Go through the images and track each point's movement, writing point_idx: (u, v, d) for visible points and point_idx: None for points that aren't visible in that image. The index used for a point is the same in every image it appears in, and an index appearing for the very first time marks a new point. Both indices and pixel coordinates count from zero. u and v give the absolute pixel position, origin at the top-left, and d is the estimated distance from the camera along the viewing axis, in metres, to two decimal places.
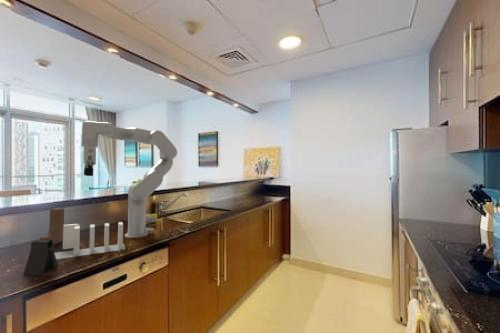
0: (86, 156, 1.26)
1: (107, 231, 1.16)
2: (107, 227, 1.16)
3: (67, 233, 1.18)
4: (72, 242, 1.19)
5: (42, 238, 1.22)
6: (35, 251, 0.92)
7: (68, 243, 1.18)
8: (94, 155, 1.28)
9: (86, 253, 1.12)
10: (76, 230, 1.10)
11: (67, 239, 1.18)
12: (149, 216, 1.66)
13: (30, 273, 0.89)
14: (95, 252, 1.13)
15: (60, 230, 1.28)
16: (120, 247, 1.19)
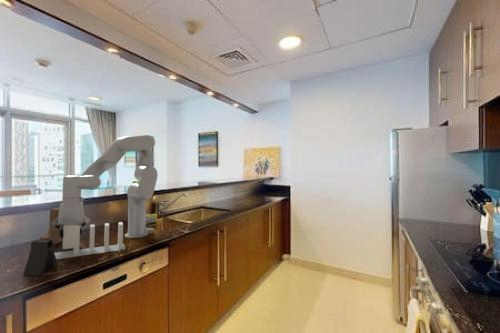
0: (82, 214, 1.20)
1: (107, 231, 1.16)
2: (107, 227, 1.16)
3: (67, 233, 1.17)
4: (72, 242, 1.19)
5: (42, 238, 1.22)
6: (35, 251, 0.92)
7: (68, 243, 1.18)
8: None
9: (86, 253, 1.12)
10: (76, 230, 1.10)
11: (67, 239, 1.17)
12: (149, 216, 1.66)
13: (30, 273, 0.89)
14: (95, 252, 1.13)
15: None
16: (120, 247, 1.19)
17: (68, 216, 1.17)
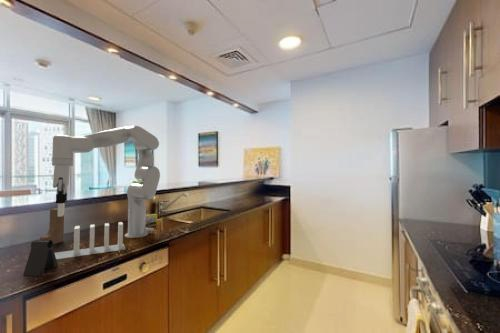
0: None
1: (107, 231, 1.16)
2: (107, 227, 1.16)
3: None
4: (63, 207, 1.10)
5: (42, 238, 1.22)
6: (35, 251, 0.92)
7: (63, 208, 1.09)
8: None
9: (86, 253, 1.12)
10: (76, 230, 1.10)
11: (63, 204, 1.08)
12: (149, 216, 1.66)
13: (30, 273, 0.89)
14: (95, 252, 1.13)
15: (60, 230, 1.28)
16: (120, 247, 1.19)
17: (68, 179, 1.10)
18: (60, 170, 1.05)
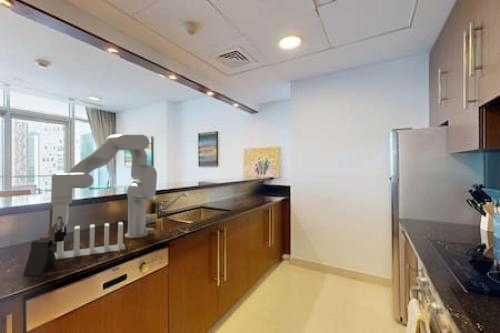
0: None
1: (107, 231, 1.16)
2: (107, 227, 1.16)
3: None
4: (62, 247, 1.10)
5: (42, 238, 1.22)
6: (35, 251, 0.92)
7: (62, 248, 1.09)
8: None
9: (86, 253, 1.12)
10: (76, 230, 1.10)
11: (62, 244, 1.08)
12: (149, 216, 1.66)
13: (30, 273, 0.89)
14: (95, 252, 1.13)
15: None
16: (120, 247, 1.19)
17: (67, 216, 1.10)
18: (59, 209, 1.05)
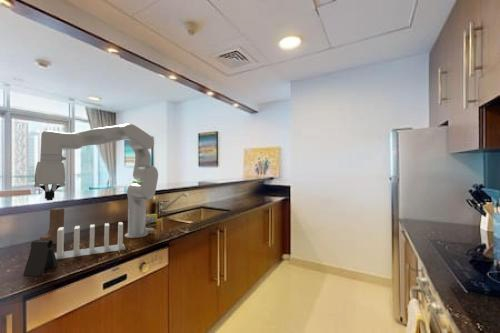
0: (64, 174, 1.10)
1: (107, 231, 1.16)
2: (107, 227, 1.16)
3: (62, 238, 1.08)
4: (62, 247, 1.10)
5: (42, 238, 1.22)
6: (35, 251, 0.92)
7: (62, 248, 1.09)
8: None
9: (86, 253, 1.12)
10: (76, 230, 1.10)
11: (62, 244, 1.08)
12: (149, 216, 1.66)
13: (30, 273, 0.89)
14: (95, 252, 1.13)
15: None
16: (120, 247, 1.19)
17: (49, 175, 1.05)
18: (36, 166, 1.03)
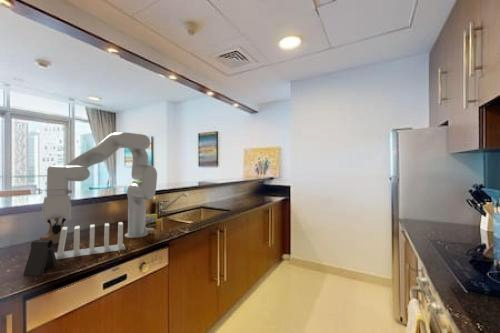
0: (69, 208, 1.09)
1: (107, 231, 1.16)
2: (107, 227, 1.16)
3: (65, 237, 1.09)
4: (63, 247, 1.10)
5: (42, 238, 1.22)
6: (35, 251, 0.92)
7: (63, 248, 1.09)
8: None
9: (86, 253, 1.12)
10: (76, 230, 1.10)
11: (64, 244, 1.09)
12: (149, 216, 1.66)
13: (30, 273, 0.89)
14: (95, 252, 1.13)
15: None
16: (120, 247, 1.19)
17: (54, 210, 1.06)
18: None
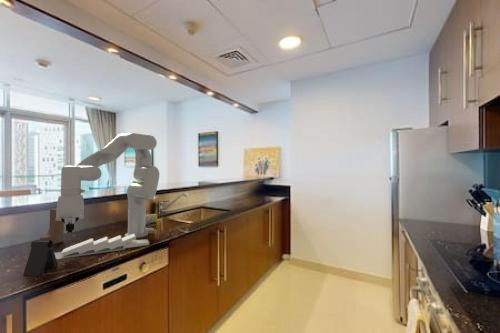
0: (83, 207, 1.12)
1: (130, 240, 1.21)
2: (134, 238, 1.22)
3: None
4: None
5: (42, 238, 1.22)
6: (35, 251, 0.92)
7: None
8: None
9: (86, 253, 1.12)
10: (106, 241, 1.16)
11: None
12: (149, 216, 1.66)
13: (30, 273, 0.89)
14: (95, 252, 1.13)
15: (60, 230, 1.28)
16: (124, 246, 1.20)
17: (67, 209, 1.08)
18: None
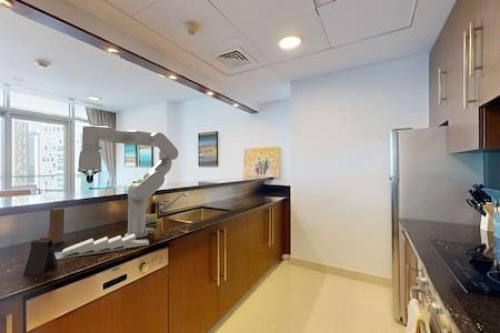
0: (100, 162, 1.29)
1: (130, 240, 1.21)
2: (134, 238, 1.22)
3: None
4: None
5: (42, 238, 1.22)
6: (35, 251, 0.92)
7: None
8: None
9: (86, 253, 1.12)
10: (106, 241, 1.16)
11: None
12: (149, 216, 1.66)
13: (30, 273, 0.89)
14: (95, 252, 1.13)
15: (60, 230, 1.28)
16: (124, 246, 1.20)
17: (88, 162, 1.26)
18: (79, 155, 1.26)
